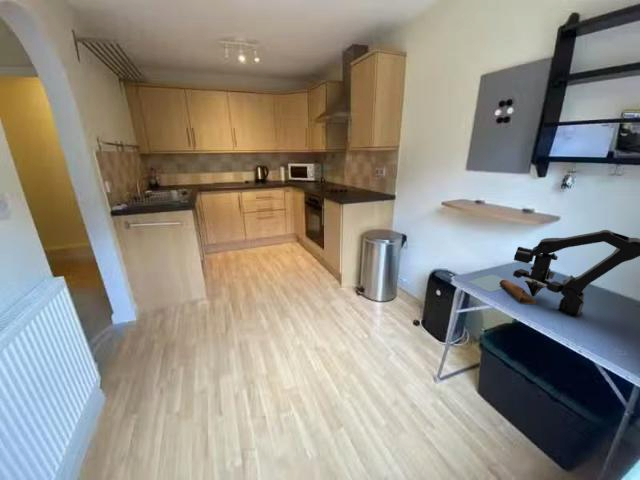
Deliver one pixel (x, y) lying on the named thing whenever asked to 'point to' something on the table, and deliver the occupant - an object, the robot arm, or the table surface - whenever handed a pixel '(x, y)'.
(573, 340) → the table surface
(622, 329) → the table surface
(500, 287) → the mat
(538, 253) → the robot arm
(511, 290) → the sunglasses case
